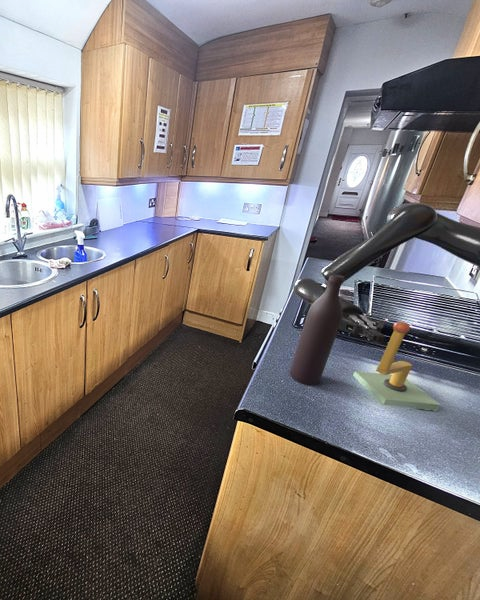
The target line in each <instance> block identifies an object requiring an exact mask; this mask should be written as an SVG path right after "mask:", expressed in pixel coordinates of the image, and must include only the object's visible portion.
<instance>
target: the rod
mask: <svg viewBox="0 0 480 600" xmlns="http://www.w3.org/2000/svg"><path fill="white" fill-rule="evenodd" d="M392 329H393V331H392V334H391V336H390V339H389V341H388V343H387V345H386V347H385V350H384V352H383V354H382V357H381V359H380V361H379V364H378V366H377V367H376V369H375V372H376V373H380V374H383V375H388V374H391V375H392V377H391V379H390V381H389V383H390V384H392V385H394V386H397V387H402V386H403V384H404V382H405V380H406V379H408V376H409V374H410V372H411V370H412V368H413V364H412V363H410V362H408V361H404V360H398V361H395V362H394V360H395V358H396V355H397V353H398V351H399V349H400V346H401V344H402V342H403V340H404V338H405V336H406V334H408V333H409V332H410V330H411V326H410V324H409V323H407V322H405V321H397V322H395V323H394V324H393V326H392Z"/></svg>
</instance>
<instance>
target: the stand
mask: <svg viewBox="0 0 480 600" xmlns="http://www.w3.org/2000/svg"><path fill="white" fill-rule="evenodd" d="M352 376H353V377H354V378H355V379H356V380H357V381H358V382H359V383H360V384H361V385H362V386H363V387H364V388H365V389H366V390H367V391H368V392H369V393H370V394H371V395H372V396H373V397H374V398H375V399H376V400H377V401H378V402H379V403H380V404H382V405H383V406H392V407H403V408H415V409H416V408H417V409H416V410H420V409H427V410H426V411H430V410H437V411H439V408H440V407H441V403H439V402H438V401H436V400H435V399H434V398H433V397H431V396H430V395H429V394H428V393H426V392H425V391H424V390H422V389H421V388H419V387H418V386H417V385H415V384H414V383H413V381H411V380H409V379H408V378H406V380H405V382H404V384H403V386H402V387H397V386H394V385H392V384H390V383H389V381H390V379H391V377H392V374H388V375H383V374H381V373H379V372H367V371H357V370H355V371H354V372H353V375H352Z"/></svg>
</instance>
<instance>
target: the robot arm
mask: <svg viewBox="0 0 480 600" xmlns="http://www.w3.org/2000/svg"><path fill="white" fill-rule="evenodd" d="M413 239H417V240H420V241H425V242H426V243H429V244H432V245H433V246H434V245H435V246H437V247H439V248H440V249H442V250H444V251H446V252H447V253H449V254H451V255H453V256H455V257H457V258H458V259H461V260H463V261H465V262H467V263H470V264H471V265H473V266H476V267H478V268H480V226H476V225H473V224H468V223H464V222H460V221H457V220H454V219H452V218H449V217H447V216H445V215H443V214H440V213H439V212H437V210H436V209H435V208H434V207H433V206H431V205H429V204H427V203H422V202H406V203H405V202H404V203H403V204H400V205H397V206H396V207H394V208H393V209H392V210H390V211H389V213H388V215H387V217H386V223H385V224H384V225H383V226H381V228H380V229H378V231H377V232H375V233H374V234H372V235H371V236H370V237H369V238H367V239H366V240H364V241H363V242H361V243H359V244H358V245H356V246H354V247H353V248H351V249H349V250H347V251H345V252H344V253H343V254H341V255H339V256H338V257H336V258H335V259H334V260H333V261H331V262H330V263H329V264H328V265H326V266H325V267H323V268H322V270H321V271H320V274H321V276H322V277H323V278H324V281H323V283H322V284H321V283H319V282H318V281H316V280H315V279H314V278H311V277H302V278H299V279H298V280H297V281H295V283H294V285H293V292H294V294H295V295H296V296H297V297H299V298H300V299H301V300H303V301H304V302H306V303H307V304H308V305H310V306H312V304H313V303H314V302H315V301H316V300H317V299H318V298H320V297H321V296H322V295H323V294H324V293H325V291H326V289H327V287H328V284H329V281H328V280H329V277H330V276H331V275H332V274H337V275H342V276H344V282H343V283H345V282H346V281H348V280H349V279H351V278H352V277H354V276H355V275H357V274H358V273H359V272H361V271H362V270H363V269H365V268H366V267H368V266H369V265H371V264H372V263H374V261H376V260H378V259H379V258H380V257H382V256H384V255H386V254H387V253H389V252H391V251H393V250H394V249H395V248H397V247H399V246H402V245H404V244H405V243H407V242H409V241H410V240H413ZM339 299H340V302H341V305H342V310H343V314H342V320H341V323H340V326H339V329H338V330H341V331H343V332H346V333H349V334H352V335H356V336H357V335H360V336H362V337H366V338H367V339H369V340H370V341H371V342H373V343H374V344H383V343H384V341H385V338H386V335H384V334H383V333H381V332H382V331H383V329H384V326H385V323H386V322H385V321H384V320H378V321H372V319H371V318H369V317H367V316H366V315H364V311H363V309H362V308H361V307H360V306H359V305H356V304H354V303H353V302H351V301H350V300H348V299H346V298H344V297H342V296H340V295H339Z"/></svg>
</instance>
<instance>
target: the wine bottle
mask: <svg viewBox="0 0 480 600" xmlns="http://www.w3.org/2000/svg"><path fill="white" fill-rule="evenodd" d="M328 281H329V284H328V287H327V289H326V291H325V293H324V294H323V295H322V296H321V297H320V298H318V299H317V300H316V301H315V302H314V303H313V304H312V305H310V308H309V309H308V312H307V314H306V316H305V321H304V323H303V327H302V330H301V333H300V337H299V340H298V343H297V347H296V349H295V353H294V356H293V360H292V363H291V366H290V370H289V376H290V378H291V379H293V380H294V381H295V382H298V383H299V384H302V385H306V386H317V385H318V384H319V383H320V382H321V379H322V377H323V374H324V371H325V369H326V365H327V363H328V359H329V357H330V354H331V351H332V349H333V346H334V343H335V340H336V338H337V334H338V331H339V330H340V329H339V326H340V323H341V320H342V314H343V310H342V305H341V302H340V299H339V296H340V291H341V287H342V284H344V283H345V282H344V276H342V275H337V274H332V275H331V276H330V277H329V280H328Z"/></svg>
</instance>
